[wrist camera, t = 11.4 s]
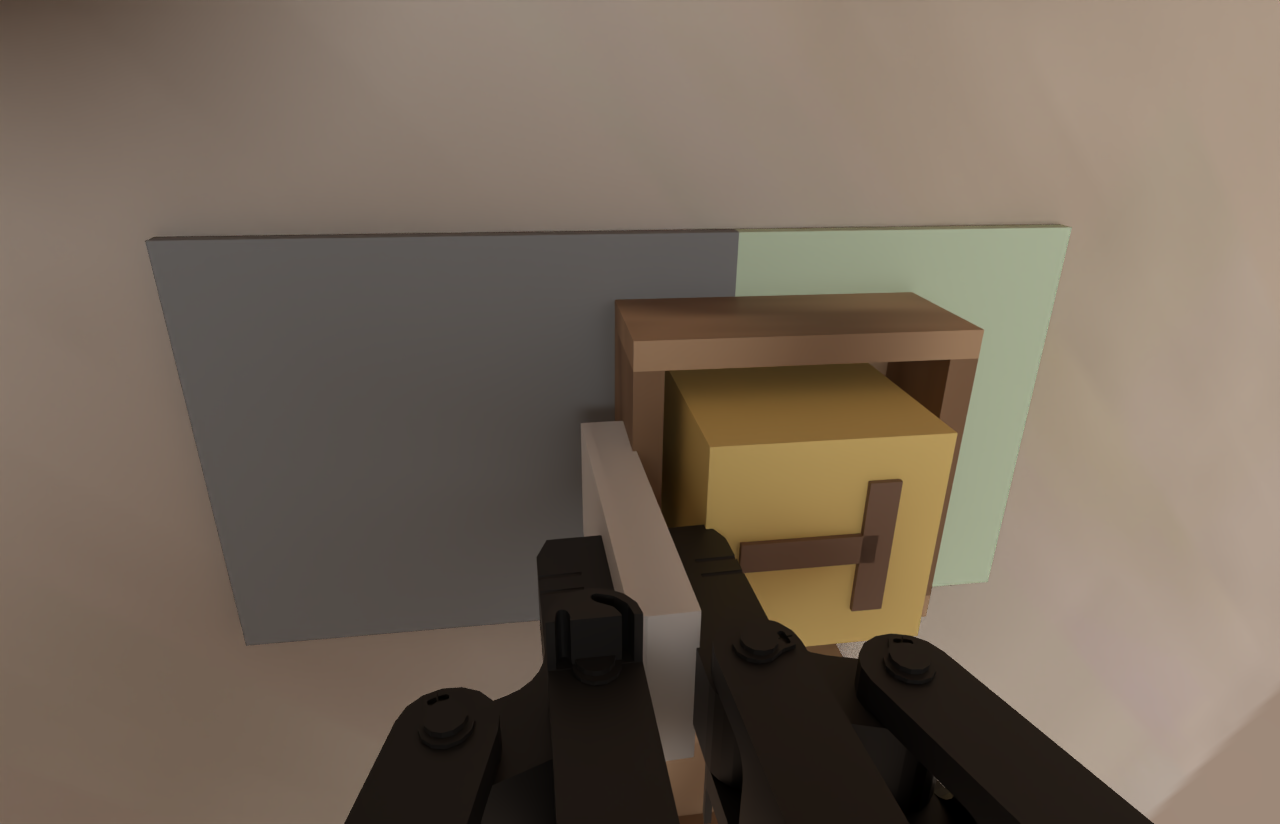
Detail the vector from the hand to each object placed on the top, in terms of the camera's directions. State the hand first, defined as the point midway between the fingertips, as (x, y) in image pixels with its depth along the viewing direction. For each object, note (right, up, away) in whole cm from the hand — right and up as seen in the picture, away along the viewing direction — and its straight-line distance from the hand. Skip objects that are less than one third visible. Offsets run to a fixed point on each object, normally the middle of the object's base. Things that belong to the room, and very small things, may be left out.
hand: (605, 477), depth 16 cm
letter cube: (+3, +1, +1) cm, 4 cm away
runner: (+1, +1, +2) cm, 2 cm away
